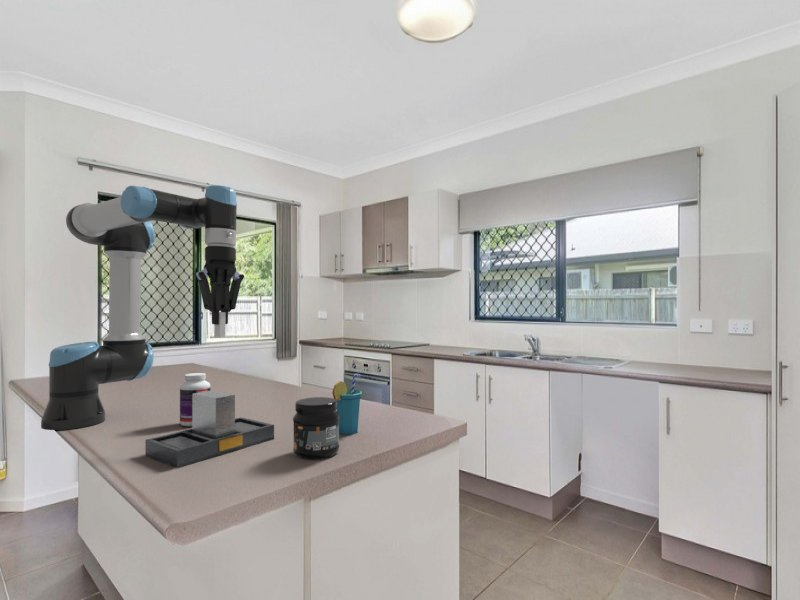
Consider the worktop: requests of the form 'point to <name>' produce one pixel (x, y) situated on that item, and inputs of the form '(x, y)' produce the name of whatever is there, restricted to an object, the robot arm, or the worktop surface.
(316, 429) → the supplement container
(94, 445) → the worktop surface
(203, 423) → the grey rectangular block
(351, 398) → the cup
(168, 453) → the rack
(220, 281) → the robot arm
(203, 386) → the pill bottle
